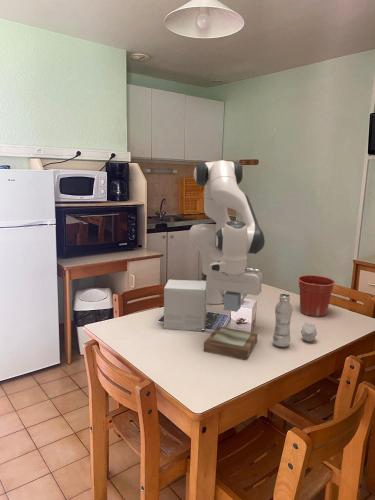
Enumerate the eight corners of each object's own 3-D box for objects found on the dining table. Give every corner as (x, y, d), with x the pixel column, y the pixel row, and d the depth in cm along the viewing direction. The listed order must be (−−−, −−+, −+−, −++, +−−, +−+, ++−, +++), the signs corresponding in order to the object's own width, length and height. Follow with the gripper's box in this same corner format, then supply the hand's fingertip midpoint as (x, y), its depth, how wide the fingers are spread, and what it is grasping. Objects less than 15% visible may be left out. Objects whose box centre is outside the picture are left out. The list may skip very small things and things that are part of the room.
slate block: (227, 305, 142) (228, 290, 141) (240, 307, 141) (241, 292, 139) (223, 309, 138) (224, 293, 137) (236, 311, 136) (237, 295, 135)
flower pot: (327, 322, 168) (331, 287, 165) (290, 314, 176) (293, 281, 173) (334, 311, 182) (338, 278, 178) (300, 304, 190) (303, 273, 187)
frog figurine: (316, 338, 151) (318, 322, 149) (315, 345, 144) (317, 328, 143) (301, 335, 153) (302, 319, 152) (299, 342, 147) (300, 325, 145)
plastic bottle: (268, 344, 144) (272, 294, 140) (279, 340, 149) (283, 291, 145) (282, 351, 139) (286, 299, 135) (293, 346, 144) (297, 295, 140)
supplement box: (206, 319, 168) (207, 280, 164) (204, 331, 155) (205, 289, 151) (167, 317, 170) (168, 278, 166) (163, 329, 157) (163, 287, 153)
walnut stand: (217, 334, 153) (218, 325, 152) (257, 342, 147) (257, 332, 146) (203, 351, 138) (204, 340, 137) (246, 360, 132) (247, 349, 131)
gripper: (264, 267, 135) (262, 304, 138) (210, 261, 143) (209, 296, 146) (260, 271, 129) (258, 310, 132) (204, 265, 137) (203, 301, 140)
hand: (232, 303), depth 139 cm, fingers closed on slate block, 5 cm apart
